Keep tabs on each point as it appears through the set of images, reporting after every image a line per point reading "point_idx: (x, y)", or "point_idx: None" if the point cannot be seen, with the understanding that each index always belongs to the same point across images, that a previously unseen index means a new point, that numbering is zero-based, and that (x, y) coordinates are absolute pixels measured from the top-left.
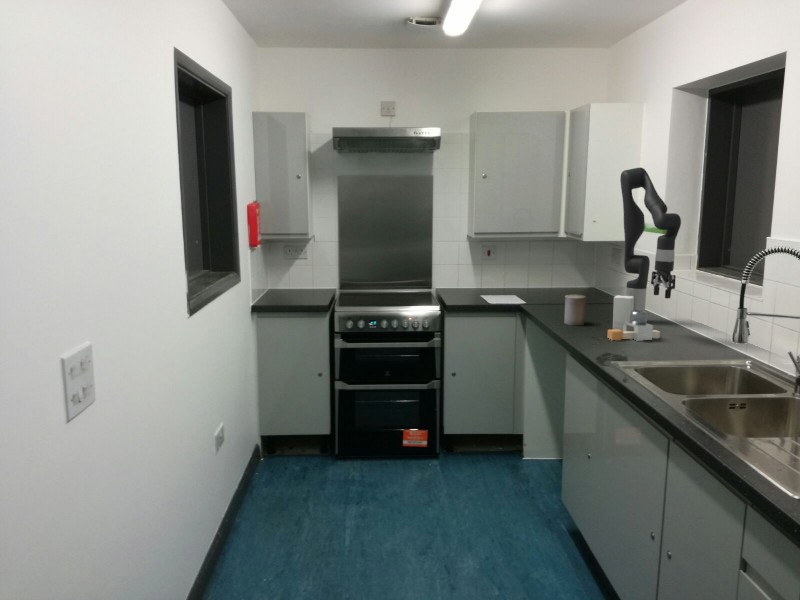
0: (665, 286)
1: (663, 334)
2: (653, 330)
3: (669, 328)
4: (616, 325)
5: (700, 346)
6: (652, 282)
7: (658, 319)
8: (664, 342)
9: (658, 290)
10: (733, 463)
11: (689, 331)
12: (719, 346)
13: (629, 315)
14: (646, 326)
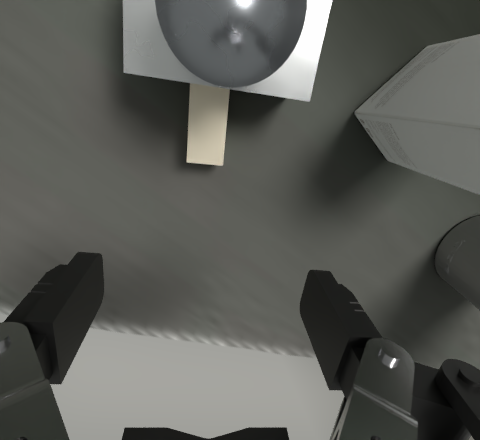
0: (11, 370)
1: (246, 219)
2: (217, 146)
3: None
4: (426, 56)
5: (12, 221)
6: (461, 393)
7: (448, 351)
8: (101, 115)
9: (315, 341)
10: None
11: (258, 335)
12: (12, 287)
13: (407, 110)
14: (123, 14)
